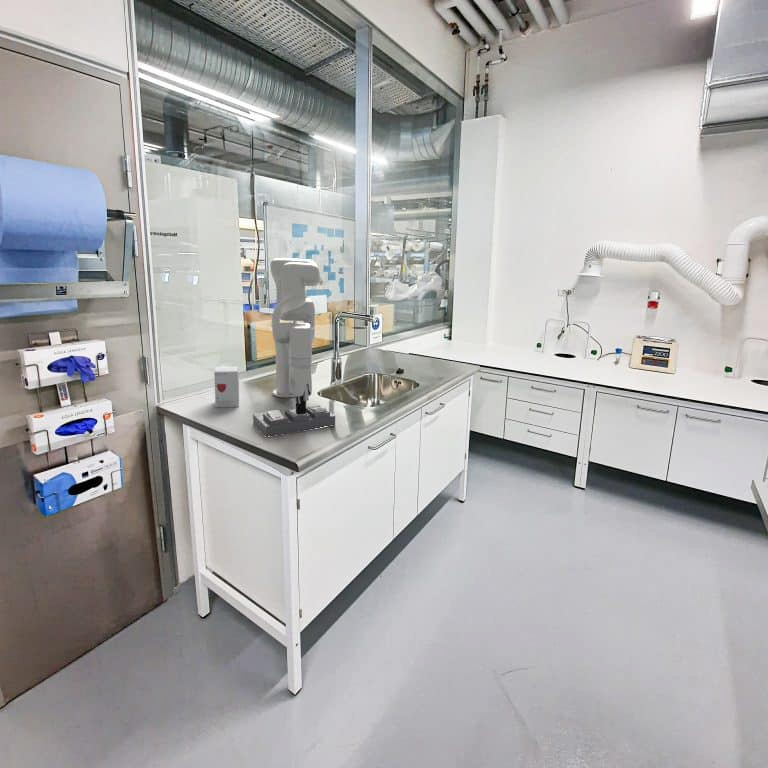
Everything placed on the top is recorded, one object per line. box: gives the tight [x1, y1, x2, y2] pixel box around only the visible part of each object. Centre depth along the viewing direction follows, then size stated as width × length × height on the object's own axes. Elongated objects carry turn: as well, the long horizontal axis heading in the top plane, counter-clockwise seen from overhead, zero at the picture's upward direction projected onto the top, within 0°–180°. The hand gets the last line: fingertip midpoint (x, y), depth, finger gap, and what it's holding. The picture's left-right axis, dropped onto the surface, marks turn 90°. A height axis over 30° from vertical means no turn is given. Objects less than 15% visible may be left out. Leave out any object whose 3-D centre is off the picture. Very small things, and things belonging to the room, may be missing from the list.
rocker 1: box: [266, 409, 284, 420], centre depth 156 cm, size 6×4×1 cm, turn 33°
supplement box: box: [213, 366, 240, 409], centre depth 181 cm, size 9×9×15 cm
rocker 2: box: [309, 406, 327, 413], centre depth 165 cm, size 6×4×1 cm, turn 33°
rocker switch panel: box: [252, 404, 336, 438], centre depth 163 cm, size 14×26×6 cm, turn 123°
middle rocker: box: [289, 408, 306, 417], centre depth 161 cm, size 6×4×1 cm, turn 33°
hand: (300, 413), depth 157 cm, fingers closed
